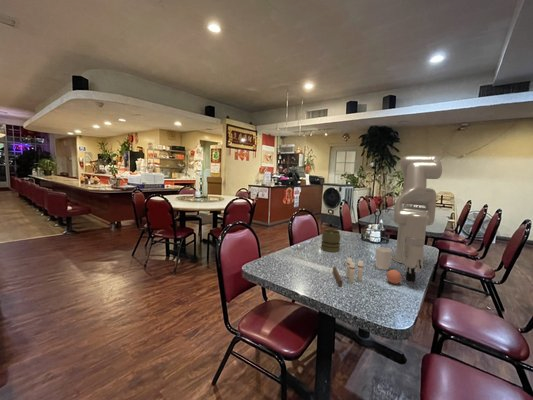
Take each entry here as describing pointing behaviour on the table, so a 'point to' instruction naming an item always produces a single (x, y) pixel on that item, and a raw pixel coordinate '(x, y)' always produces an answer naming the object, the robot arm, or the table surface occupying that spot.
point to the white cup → (383, 258)
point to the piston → (331, 241)
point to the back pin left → (351, 272)
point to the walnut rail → (337, 276)
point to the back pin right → (348, 267)
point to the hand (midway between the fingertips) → (410, 280)
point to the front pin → (360, 271)
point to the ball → (394, 276)
